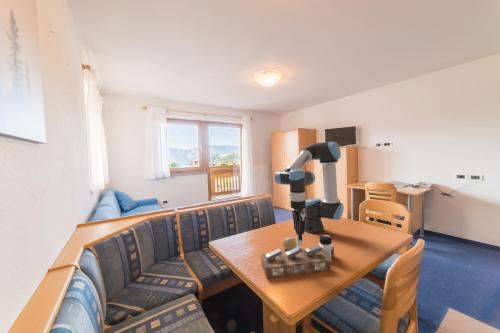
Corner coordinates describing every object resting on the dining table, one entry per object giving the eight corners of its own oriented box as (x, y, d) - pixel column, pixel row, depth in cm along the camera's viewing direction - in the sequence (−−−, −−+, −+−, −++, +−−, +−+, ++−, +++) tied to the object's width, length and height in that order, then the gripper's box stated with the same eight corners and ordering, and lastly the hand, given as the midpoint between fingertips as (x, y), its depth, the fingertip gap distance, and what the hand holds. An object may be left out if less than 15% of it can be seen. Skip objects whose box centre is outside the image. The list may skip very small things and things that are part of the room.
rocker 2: (300, 248, 103) (298, 245, 102) (302, 251, 99) (301, 248, 99) (286, 255, 102) (285, 252, 102) (288, 258, 99) (287, 255, 98)
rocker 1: (280, 250, 101) (279, 247, 101) (282, 253, 98) (281, 250, 98) (266, 257, 100) (265, 254, 100) (268, 260, 97) (266, 257, 97)
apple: (292, 253, 114) (284, 241, 115) (285, 253, 121) (278, 241, 122) (301, 245, 118) (293, 233, 119) (293, 245, 125) (287, 234, 126)
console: (318, 256, 109) (317, 245, 109) (330, 270, 96) (330, 257, 96) (261, 263, 105) (260, 251, 105) (266, 278, 92) (266, 264, 92)
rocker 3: (319, 247, 104) (318, 244, 104) (322, 250, 101) (321, 247, 101) (305, 252, 103) (304, 249, 103) (307, 255, 100) (307, 252, 100)
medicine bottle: (331, 262, 103) (331, 240, 103) (317, 259, 107) (317, 238, 107) (334, 256, 109) (333, 235, 109) (320, 253, 113) (320, 233, 113)
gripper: (286, 198, 106) (288, 240, 107) (295, 203, 93) (297, 252, 94) (300, 197, 106) (301, 239, 108) (310, 202, 94) (312, 250, 95)
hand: (299, 245), depth 101 cm, fingers closed
